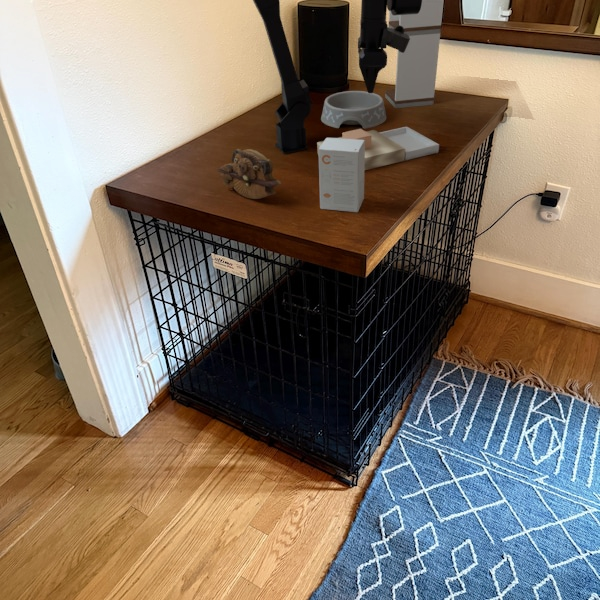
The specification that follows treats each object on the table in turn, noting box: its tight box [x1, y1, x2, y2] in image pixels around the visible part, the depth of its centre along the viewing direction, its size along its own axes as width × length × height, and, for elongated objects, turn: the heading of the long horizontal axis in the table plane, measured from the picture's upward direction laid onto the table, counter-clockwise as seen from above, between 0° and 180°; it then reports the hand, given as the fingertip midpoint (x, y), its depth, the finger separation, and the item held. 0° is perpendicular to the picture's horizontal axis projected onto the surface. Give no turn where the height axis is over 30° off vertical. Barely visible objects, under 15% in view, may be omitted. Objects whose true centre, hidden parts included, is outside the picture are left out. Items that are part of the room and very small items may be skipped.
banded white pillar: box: [384, 0, 444, 109], centre depth 156 cm, size 11×11×35 cm
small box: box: [318, 137, 365, 213], centre depth 113 cm, size 8×6×13 cm
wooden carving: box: [217, 148, 282, 200], centre depth 119 cm, size 16×5×10 cm, turn 55°
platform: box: [316, 129, 405, 171], centre depth 134 cm, size 16×14×3 cm
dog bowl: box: [320, 90, 387, 130], centre depth 156 cm, size 17×18×5 cm
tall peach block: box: [341, 128, 371, 149], centre depth 132 cm, size 5×5×3 cm
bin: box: [379, 126, 440, 161], centre depth 139 cm, size 9×14×2 cm
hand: (369, 87), depth 137 cm, fingers open, 9 cm apart
